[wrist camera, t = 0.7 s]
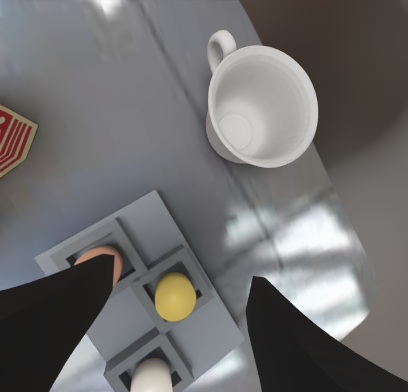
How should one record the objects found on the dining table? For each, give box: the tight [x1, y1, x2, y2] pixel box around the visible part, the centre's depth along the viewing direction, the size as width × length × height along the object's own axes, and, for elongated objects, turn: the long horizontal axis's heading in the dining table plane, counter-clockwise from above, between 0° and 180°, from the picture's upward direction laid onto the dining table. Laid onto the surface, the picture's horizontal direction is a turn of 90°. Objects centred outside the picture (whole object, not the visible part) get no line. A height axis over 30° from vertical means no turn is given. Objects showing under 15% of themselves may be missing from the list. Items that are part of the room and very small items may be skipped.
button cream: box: [130, 358, 173, 392], centre depth 22 cm, size 4×4×2 cm
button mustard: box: [155, 272, 196, 321], centre depth 23 cm, size 4×4×2 cm
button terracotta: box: [74, 245, 123, 287], centre depth 21 cm, size 4×4×2 cm
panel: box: [34, 190, 245, 392], centre depth 25 cm, size 14×22×5 cm, turn 31°
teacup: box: [206, 30, 318, 168], centre depth 26 cm, size 12×15×10 cm
